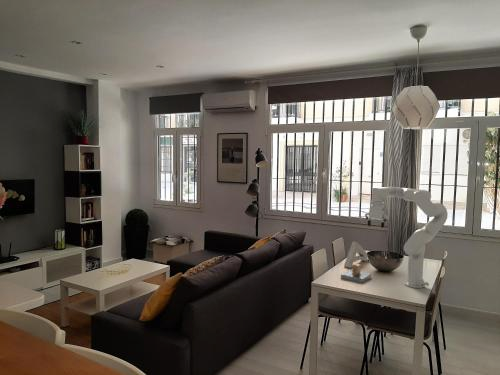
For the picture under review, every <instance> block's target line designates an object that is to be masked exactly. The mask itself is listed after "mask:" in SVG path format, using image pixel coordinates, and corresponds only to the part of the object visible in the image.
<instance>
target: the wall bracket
mask: <svg viewBox="0 0 500 375" xmlns="http://www.w3.org/2000/svg"><path fill="white" fill-rule="evenodd" d="M357 254H358V255H357ZM367 254H368V253H367V252H366V250H365V249H364V248H363V247H362V245H361V244H360V243H359V241H354V240H353V241H352V242H351V245H350V247H349V250H348V254H347V256H346V259H345V262H344V265H343V267H344V268H348V269H351V267H353V264H354V263H357V261H361V262H365V263H366V262H369V261H368V259H367Z"/></svg>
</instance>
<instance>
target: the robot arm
mask: <svg viewBox="0 0 500 375" xmlns="http://www.w3.org/2000/svg"><path fill="white" fill-rule="evenodd" d="M385 198H387V199H389V198H398V199H403V200H404V201H407V202H414V203H415V204H416V206H417V207H418V208H419V209H420V210H421V211H422V212H423V213H424V214H425V215H426V216H427V217H429V218H430V219H429V220H428V221H427V223H425V225H424V226H423V227H422V228H420V229H417V230H416V231H414V232H413V233H412V234H411V236H410V237H409V238H408V239H407V240H406V242H405V243H404V245H403V251H404V253H405V254H406V255H408V259H407V260H408V261H407V277H406V278H407V279H406V281H404V285H405V286H407V287H409V288H414V289H423V288H424V287H425V286H427V287H429V286H430V283H429V281H425V280H424V278H423V277H424V276H423V274H424V262H425V261H424V258H425V252H426V244H427V243H429V242H431V241H432V240H433V239H434V238H435V236H436V235H437V234H438V233H439V231H440V230H441V229H442V228H443V227H444V225H445V224H446V222H447V220H448V214H449V213H448V210H447V208H446V206H445V205H444V204H443V203H441V202H435V203H433V202H432V201H431V198H432V194H431V192H430V191H429V190H426V189H417V188H409V187H408V188H407V187H397V186H385V187H382V186H372V188H371V204H370V206H369V212H367V213H365V214H364V216H365V219H366V220H367V226H368V227H371V225H372V219H373V220H380V221H381V224H380V225H381V226H380V228H382V229H383V228H384V227H385V222H386V221H388V219H389V216H388V215H387V214H385V208H384V206H385V202H383V199H385Z"/></svg>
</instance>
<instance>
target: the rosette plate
mask: <svg viewBox="0 0 500 375" xmlns="http://www.w3.org/2000/svg"><path fill="white" fill-rule="evenodd" d="M352 273H353V269H348V270H347V271H345V272H343V273H341V274H340V279H341V280H346V281H351V282H354V283H355V282H356V283H359V284H364V283H366V282H367V281H369V280H371V279H372V273H368V272H364V271H360V275H359V276H357V275H352ZM368 279H369V280H368Z"/></svg>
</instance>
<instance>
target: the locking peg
mask: <svg viewBox="0 0 500 375" xmlns="http://www.w3.org/2000/svg"><path fill="white" fill-rule="evenodd" d="M352 270H353V273H352V275H357V276H359V275H360V272H361V264H359V263H353V265H352Z"/></svg>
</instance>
